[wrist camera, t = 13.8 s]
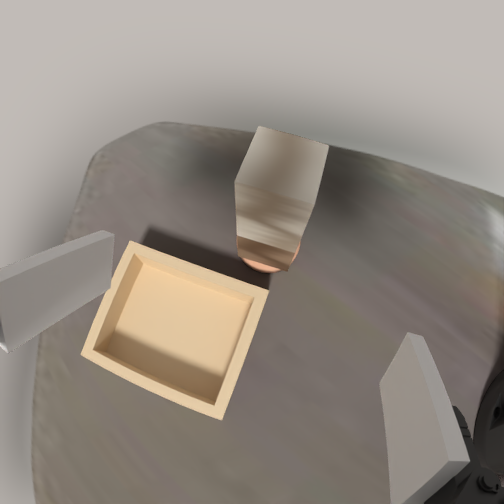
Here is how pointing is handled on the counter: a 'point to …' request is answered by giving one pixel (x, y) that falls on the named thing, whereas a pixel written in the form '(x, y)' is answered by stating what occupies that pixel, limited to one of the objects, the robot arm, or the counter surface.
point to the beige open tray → (175, 328)
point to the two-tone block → (276, 195)
